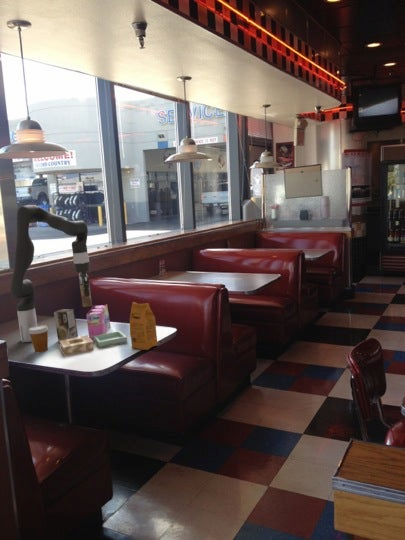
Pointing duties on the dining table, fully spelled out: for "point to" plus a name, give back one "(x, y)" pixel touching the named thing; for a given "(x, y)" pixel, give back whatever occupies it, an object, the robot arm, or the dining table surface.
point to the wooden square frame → (76, 345)
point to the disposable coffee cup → (39, 337)
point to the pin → (86, 300)
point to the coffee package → (142, 327)
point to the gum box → (98, 320)
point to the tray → (110, 339)
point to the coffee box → (65, 324)
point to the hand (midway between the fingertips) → (86, 295)
